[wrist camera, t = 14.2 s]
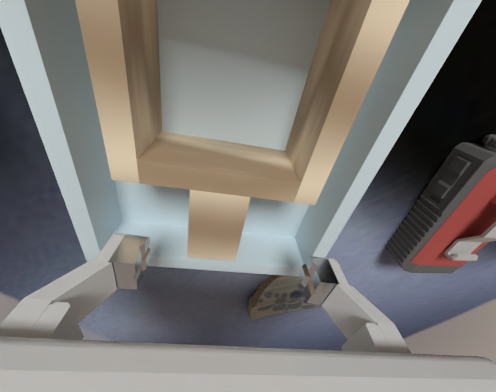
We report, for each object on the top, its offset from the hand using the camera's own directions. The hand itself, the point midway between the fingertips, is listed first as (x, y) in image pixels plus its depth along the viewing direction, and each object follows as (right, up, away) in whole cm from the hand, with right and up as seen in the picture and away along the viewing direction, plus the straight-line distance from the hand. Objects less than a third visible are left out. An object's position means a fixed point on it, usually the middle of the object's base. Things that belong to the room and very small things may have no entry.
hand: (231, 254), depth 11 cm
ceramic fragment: (+6, -7, +14) cm, 16 cm away
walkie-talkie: (+20, +5, +6) cm, 21 cm away
